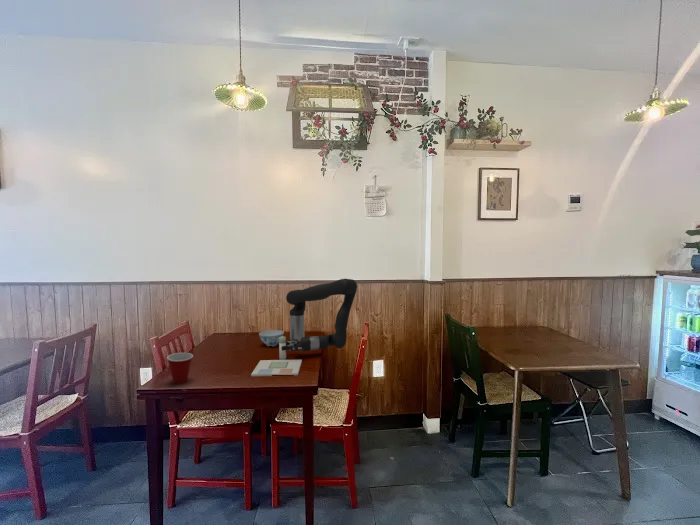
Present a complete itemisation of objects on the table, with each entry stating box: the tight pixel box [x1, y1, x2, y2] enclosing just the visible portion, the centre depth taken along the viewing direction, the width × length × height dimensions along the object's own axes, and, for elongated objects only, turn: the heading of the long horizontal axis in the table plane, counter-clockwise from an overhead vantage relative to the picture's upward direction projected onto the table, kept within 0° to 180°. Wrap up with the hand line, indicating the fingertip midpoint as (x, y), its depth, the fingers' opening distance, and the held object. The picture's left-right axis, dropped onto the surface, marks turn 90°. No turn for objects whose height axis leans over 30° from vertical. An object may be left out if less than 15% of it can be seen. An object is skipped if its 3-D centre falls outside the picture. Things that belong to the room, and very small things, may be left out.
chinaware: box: [258, 329, 285, 347], centre depth 216 cm, size 15×15×8 cm
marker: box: [278, 335, 287, 360], centre depth 189 cm, size 4×4×12 cm
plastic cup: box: [166, 352, 194, 384], centre depth 159 cm, size 11×11×12 cm
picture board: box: [250, 359, 303, 377], centre depth 175 cm, size 20×22×1 cm
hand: (280, 346), depth 189 cm, fingers open, 8 cm apart
